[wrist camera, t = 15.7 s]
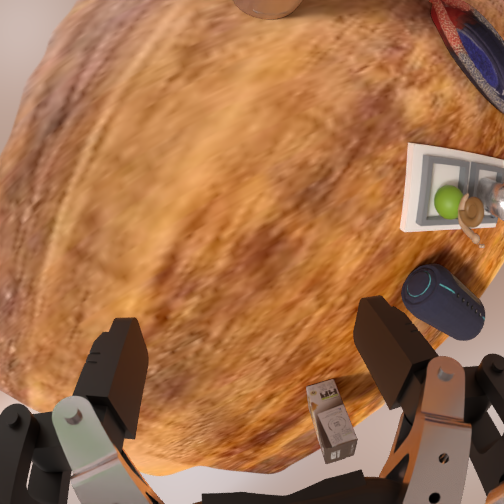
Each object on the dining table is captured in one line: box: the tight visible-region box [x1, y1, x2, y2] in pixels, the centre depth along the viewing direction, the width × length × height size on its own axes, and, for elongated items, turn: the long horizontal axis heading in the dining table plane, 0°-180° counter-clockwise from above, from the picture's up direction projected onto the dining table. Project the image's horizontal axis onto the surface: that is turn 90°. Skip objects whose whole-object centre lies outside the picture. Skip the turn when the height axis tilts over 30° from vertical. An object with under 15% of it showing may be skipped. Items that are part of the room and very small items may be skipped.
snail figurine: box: [434, 185, 485, 248], centre depth 35 cm, size 5×6×12 cm
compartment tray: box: [400, 142, 504, 232], centre depth 40 cm, size 14×26×3 cm, turn 92°
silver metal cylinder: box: [476, 177, 504, 221], centre depth 36 cm, size 6×6×9 cm
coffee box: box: [306, 379, 358, 464], centre depth 51 cm, size 9×6×16 cm
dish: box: [429, 0, 504, 113], centre depth 29 cm, size 16×31×5 cm, turn 61°
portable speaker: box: [401, 264, 485, 341], centre depth 46 cm, size 25×10×10 cm, turn 60°
